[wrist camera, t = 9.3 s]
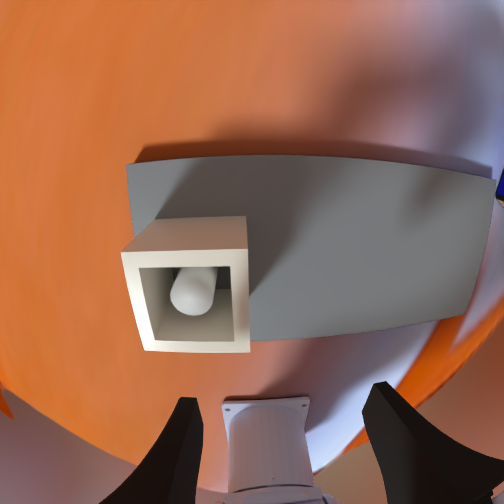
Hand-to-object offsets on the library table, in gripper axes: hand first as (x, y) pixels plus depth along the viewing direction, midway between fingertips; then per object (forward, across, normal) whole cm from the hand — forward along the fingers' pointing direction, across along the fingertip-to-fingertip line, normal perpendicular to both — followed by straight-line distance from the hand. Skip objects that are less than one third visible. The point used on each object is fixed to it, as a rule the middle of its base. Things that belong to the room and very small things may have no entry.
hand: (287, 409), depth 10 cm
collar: (+8, +4, -3) cm, 10 cm away
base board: (+9, -5, -3) cm, 11 cm away
